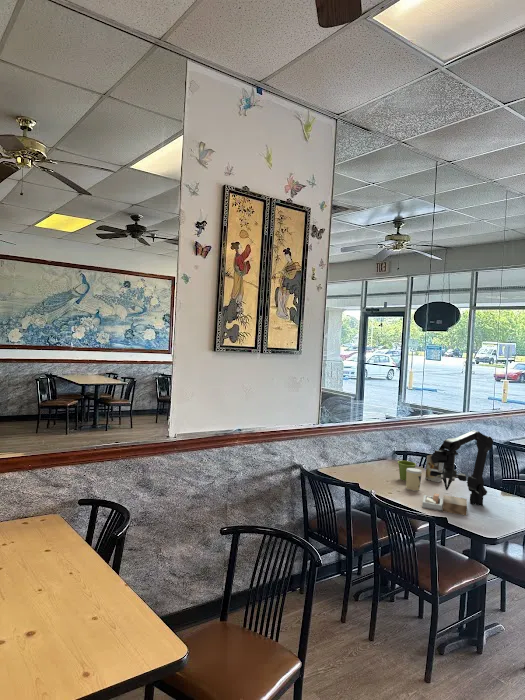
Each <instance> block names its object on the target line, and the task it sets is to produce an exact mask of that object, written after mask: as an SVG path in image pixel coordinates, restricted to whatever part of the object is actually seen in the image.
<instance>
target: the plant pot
mask: <svg viewBox="0 0 525 700" xmlns="http://www.w3.org/2000/svg"><path fill="white" fill-rule="evenodd" d="M397 464H398V470H399V471H398V473H399V480H401V481H405V482H406V469H407V468H415V467H416V466H417V463H415V462H414V461H410V460H409V461H408V460H398V461H397Z"/></svg>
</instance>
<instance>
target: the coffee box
mask: <svg viewBox="0 0 525 700" xmlns="http://www.w3.org/2000/svg"><path fill="white" fill-rule="evenodd" d="M431 456H432V454H429V455H426V464H425V467H426V468H425V478H424V479H425V480H427V479H428V481H430V480H431V481H432V482H435V483H441V482H443V479H441V475H437V476H436V477H435V476H430V470H431V469H436V470H438V472H443V463H434V462H433V461H432V459H431Z"/></svg>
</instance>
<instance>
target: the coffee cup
mask: <svg viewBox="0 0 525 700" xmlns="http://www.w3.org/2000/svg"><path fill="white" fill-rule="evenodd" d="M422 473H423V472H422V469H419V468H407V469H406V481H405V487H406V490H409V491H414V492H418V491H420V487H421V481H422Z"/></svg>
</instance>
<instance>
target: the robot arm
mask: <svg viewBox="0 0 525 700" xmlns="http://www.w3.org/2000/svg"><path fill="white" fill-rule="evenodd" d="M474 440H475V441H476V444H475V445H476V448H477V453H476V458H475V464H474V468H473V472H472V474H471V476H470V475H469V476H468V477H467V474H465V473H462V472H457V470H456V469H455V461H456V460H455V459H456V456H458V455H459V453H458V452H457V451H458V450H459V449H460V448H461V446H463V445H465V444H467V443H470V442H472V441H474ZM493 445H494V439H493V438H492V437H491V436H489V435H485V434H483V433H481V432H480V431H478V430H470V431H469V432H466V433H464V434H462V435H460V436H456V437H449V438H445V439H444V440H443V442H442V444H441V445H440V447H439V448H438V450H434V452H433V453H431V455H432V456H431V459H432V461H433V462H434V463H443V470H442V472H438V470H436V469H431V470H430V476H435V477H436V476H437V475H441V479H442V482H443V484H444V488H445V491H448V490H449V488H450V485H451V484H452V482H454V481H455V480H456V479H458V480H459V481H461V482H466V485H467V487H468V492H471V493H469V502H470V505H473V506H474V505H475V506H476V505H477V506H481V507H484V497H485V496H487V493H488V490H487V489H486V488H485V487H484V486H485V481H484V478H483V476H484V475H483V474H484V470H485V464H486V461H487V456H488V452H489V451H490V450H491V449H492V447H493ZM457 473H458V474H457ZM447 480H448V481H447Z"/></svg>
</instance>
